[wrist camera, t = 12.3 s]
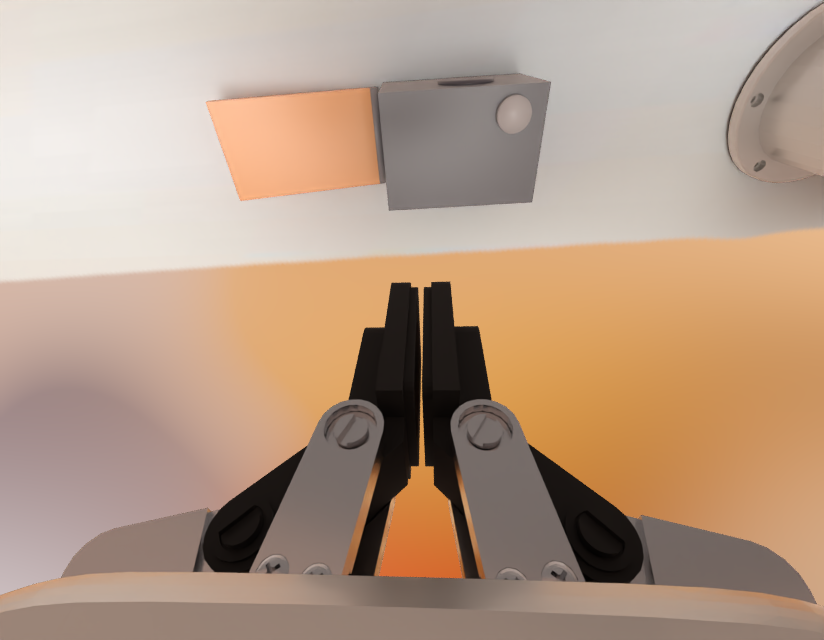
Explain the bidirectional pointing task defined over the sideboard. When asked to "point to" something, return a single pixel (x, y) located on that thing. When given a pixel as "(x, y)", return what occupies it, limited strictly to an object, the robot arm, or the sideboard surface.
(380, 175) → the side door
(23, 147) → the sideboard surface
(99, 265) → the sideboard surface
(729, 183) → the sideboard surface
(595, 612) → the robot arm
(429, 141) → the camera housing
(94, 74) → the sideboard surface
